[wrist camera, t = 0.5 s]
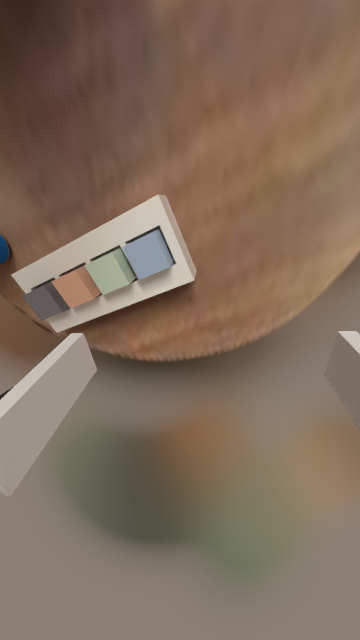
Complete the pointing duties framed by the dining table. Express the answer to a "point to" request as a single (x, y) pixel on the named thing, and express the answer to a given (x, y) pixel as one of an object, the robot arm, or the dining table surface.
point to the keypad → (104, 242)
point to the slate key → (148, 254)
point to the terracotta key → (76, 287)
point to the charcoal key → (46, 301)
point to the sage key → (110, 271)
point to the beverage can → (3, 250)
